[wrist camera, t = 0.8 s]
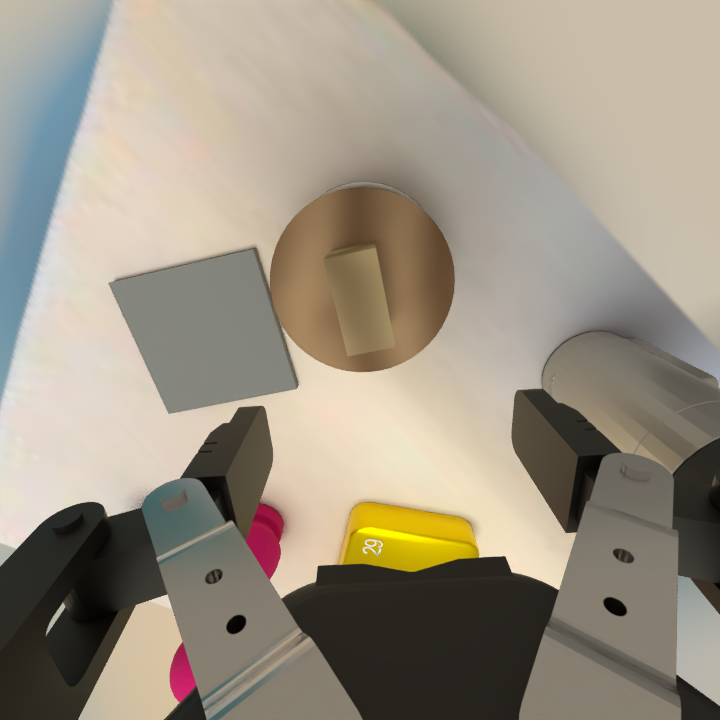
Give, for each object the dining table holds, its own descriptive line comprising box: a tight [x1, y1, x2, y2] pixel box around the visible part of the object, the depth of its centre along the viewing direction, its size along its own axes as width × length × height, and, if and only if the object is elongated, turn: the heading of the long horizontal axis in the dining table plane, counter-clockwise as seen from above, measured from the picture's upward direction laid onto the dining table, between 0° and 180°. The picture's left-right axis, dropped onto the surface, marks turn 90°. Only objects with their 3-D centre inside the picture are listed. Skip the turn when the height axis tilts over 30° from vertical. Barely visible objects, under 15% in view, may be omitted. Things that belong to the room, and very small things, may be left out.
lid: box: [270, 187, 455, 372], centre depth 26 cm, size 13×13×6 cm
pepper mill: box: [170, 504, 283, 702], centre depth 38 cm, size 7×7×20 cm
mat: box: [108, 248, 299, 414], centre depth 38 cm, size 14×14×1 cm
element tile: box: [338, 502, 479, 572], centre depth 47 cm, size 15×15×5 cm
